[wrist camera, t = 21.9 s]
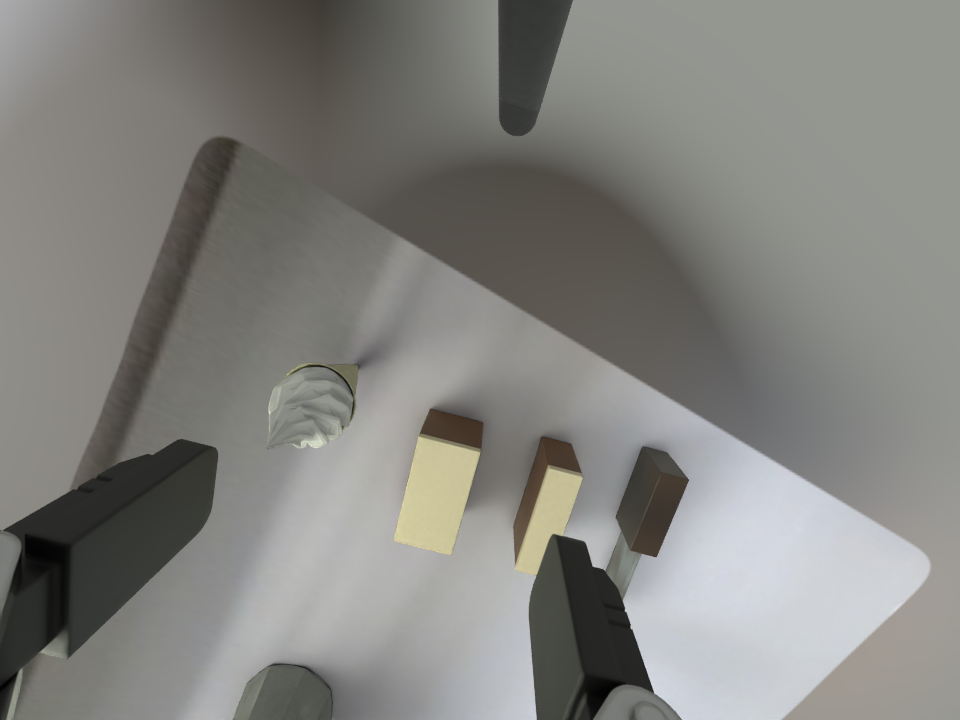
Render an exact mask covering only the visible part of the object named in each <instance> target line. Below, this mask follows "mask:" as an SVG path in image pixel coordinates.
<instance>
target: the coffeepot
mask: <svg viewBox="0 0 960 720" xmlns="http://www.w3.org/2000/svg"><path fill="white" fill-rule="evenodd" d="M331 719H332V696H331V691H330V689H329V688H328V686H327V685H326V684H325V683H324V681H323V680H322V679H321V678H320V677H318V676H317V675H316V674H314V673H313V672H311V671H309V670H307V669H305V668H302V667H299V666H294V665H275V666H269V667H267V668H266V669H264V670H262V671H261V672H259V673H258V674H257V675H256V676H255V677H254V678H253V679H252V680H251V681H249V682H248V683H247V684H246V687H245V689H244V692H243V695H242V697H241V700H240V702H239V705H238V708H237V710H236V713H235V715H234V718H233V720H331Z"/></svg>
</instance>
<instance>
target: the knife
mask: <svg viewBox="0 0 960 720" xmlns="http://www.w3.org/2000/svg"><path fill="white" fill-rule="evenodd" d="M688 481H689V479H688V478H687V477H686V475H685V474H684V473H683V472H682V470H681V469H680V468H679V467H678V465H677V464H676V463H675V462H674V460H673V459H672V458H671V457H670V455H669V454H668V453H666V452H662V451H658V450H655V449H651V448H647V447H642V450H641V452H640V455H639V458H638V460H637V463H636V465H635V468H634V471H633V473H632V476H631V479H630V481H629V484H628V486H627V489H626V492H625V494H624V497H623V500H622V502H621V505H620V507H619V510H618V513H617V515H616V519H617V521H618V524H619V526H620V528H621V534H620V537H619V539H618V542H617V544H616V547H615V549H614V552H613V554H612V557H611V560H610V562H609V565H608V567H607V570H606V573H607V575H608V576H609V577H610V578H611V580H612V581H613V582H614V584H615V585H616V586H617V588H618V589H619V592H620V595H621V598H622V601H623V598H624V596H625V593H626V591H627V588H628V586H629V583H630V581H631V579H632V576H633V574H634V571H635V569H636V566H637V564H638V561H639V559H640V557H641V554H645V555H649V556H653V557H657V555H658V553H659V550H660V548H661V546H662V543H663V541H664V538H665V536H666V534H667V531H668V529H669V527H670V524H671V522H672V519H673V517H674V515H675V512H676V510H677V507H678V505H679V503H680V500H681V498H682V496H683V493H684V491H685V488H686V486H687V484H688Z"/></svg>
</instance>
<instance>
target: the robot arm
mask: <svg viewBox="0 0 960 720" xmlns="http://www.w3.org/2000/svg"><path fill="white" fill-rule="evenodd" d="M217 462H218V452H217V449H216V448H215V447H212V446H208V445H204V444H200V443H196V442H192V441H188V440H184V439H180V440H177V441H175V442H173V443H172V444H170V445H169V446H167V447H165V448H164V449H162V450H160V451H159V452H157V453H155V454H154V455H150V454H146V455H143V456H140V457H137V458H133V459H130V460H127V461H124V462H120V463H118V464H117V465H115V466H113V467H111V468H110V469H108V470H106V471H105V472H103V473H101V474H99V475H98V476H97V478H96V479H94V478H92V479H91V480H89V481H87V482H86V483H84V484H82V485H80V486H79V487H78V489H77V490H74V489H73V490H72V491H70V492H68V493H67V494H65V495H63V496H61V497H60V498H58V499H56V500H54V501H53V502H51V503H49V504H47V505H46V506H44V507H42V508H41V509H39V510H37V511H35V512H34V513H32V514H30V515H29V516H27V517H25V518H23V519H22V520H20V521H18V522H16V523H15V524H13V525H11V526H9V527H8V528H6V529H4V530H3V531H1V530H0V720H13V716H14V711H15V707H16V703H17V699H18V695H19V691H20V686H21V682H22V667H23V666H25V665H26V664H27V663H28V662H29V661H30V660H31V659H32V658H34V657H35V656H36V655H37V654H38V653H43V654H47V655H52V656H56V657H60V658H64V659H68V658H69V657H70V656H71V655H72V654H73V653H74V652H75V651H76V650H78V649H79V648H80V647H81V646H82V645H83V644H84V643H85V642H86V641H87V640H88V639H89V638H90V637H91V636H92V635H93V634H94V633H95V632H96V631H97V630H98V629H99V628H100V627H101V626H102V625H103V624H105V623H106V622H107V621H108V620H109V619H110V618H111V617H112V616H113V615H114V614H115V613H116V612H117V611H118V610H119V609H120V608H121V607H122V606H123V605H124V604H125V603H126V602H127V601H128V600H129V599H130V598H132V597H133V596H134V595H135V594H136V593H137V592H138V591H139V590H140V589H141V588H142V587H143V586H144V585H145V584H146V583H147V582H148V581H149V580H150V579H151V578H152V577H153V576H154V575H155V574H156V573H157V572H159V571H160V570H161V569H162V568H163V567H164V566H165V565H166V564H167V563H168V562H169V561H170V560H171V559H172V558H173V557H174V556H175V555H176V554H177V553H178V552H179V551H180V550H181V549H182V548H183V547H184V546H185V545H187V544H188V543H189V542H190V541H191V540H192V539H193V538H194V537H195V536H196V535H197V534H198V533H199V532H200V530H201V529H202V528H203V526H204V525H205V523H206V521H207V519H208V517H209V515H210V512H211V509H212V504H213V496H214V487H215V479H216V470H217ZM529 625H530V638H531V650H532V663H533V676H534V688H535V701H536V714H537V720H682V719H681V718H680V717H679V716H678V714H677V713H676V712H675V711H674V710H673V709H672V708H671V707H670V705H668V704H667V703H666V702H665V701H664V700H663V699H661V698H660V697H658V696H657V695H656V694H654V691H653V688H652V685H651V683H650V680H649V677H648V674H647V671H646V668H645V665H644V662H643V659H642V656H641V653H640V651H639V648H638V645H637V642H636V639H635V636H634V633H633V630H632V629H630V626H631V624H630V621H629V619H628V616H627V613H626V612H625V607H624V604H623V601H622V598H621V595H620V592H619V589H618V588H617V586H616V585H615V584H614V582H613V581H612V580H611V578H610V577H609V576H608V575H607V573H606V572H605V571H604V570H603V569H599V568H595V567H593V566H592V563H591V560H590V556H589V553H588V549H587V546H586V543H585V542H584V541H581V540H577V539H573V538H569V537H565V536H561V535H557V534H552V535H551V537H550V539H549V541H548V544H547V547H546V550H545V553H544V555H543V558H542V561H541V564H540V567H539V570H538V573H537V576H536V579H535V581H534V584H533V588H532V591H531V596H530V603H529Z"/></svg>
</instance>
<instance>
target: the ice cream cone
mask: <svg viewBox="0 0 960 720" xmlns="http://www.w3.org/2000/svg"><path fill="white" fill-rule="evenodd" d="M358 368H359V367H358V365H325V364H320V363H307V364H303V365H300V366H298V367H296V368H294V369H293V370H291V371H290V372H289V373H288V374H287V375H286V376H285V378H284V380H283V381H281V382H280V383H279V384H278V385H277V386H275V387H274V388H273V392H272V395H271V399H270V403H269V406H268V412H269V437H268V442H267V445H266V449H269V448H275V447H282V446H285V445H294V446H295V447H296V448H305V447H306V445H307V443H308V444H309V445H310V446H312V447H313V448H320V447H321V446H323V445H325V444H327V443H328V441H329V440H331V439H335V438H338V437H340V436H341V435H342V432H343V429H345V428H346V427H349V425H350V422H351V420H352V418H353V416H354V414H355V409H356V398H355V394H356V386H357V377H358Z"/></svg>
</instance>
